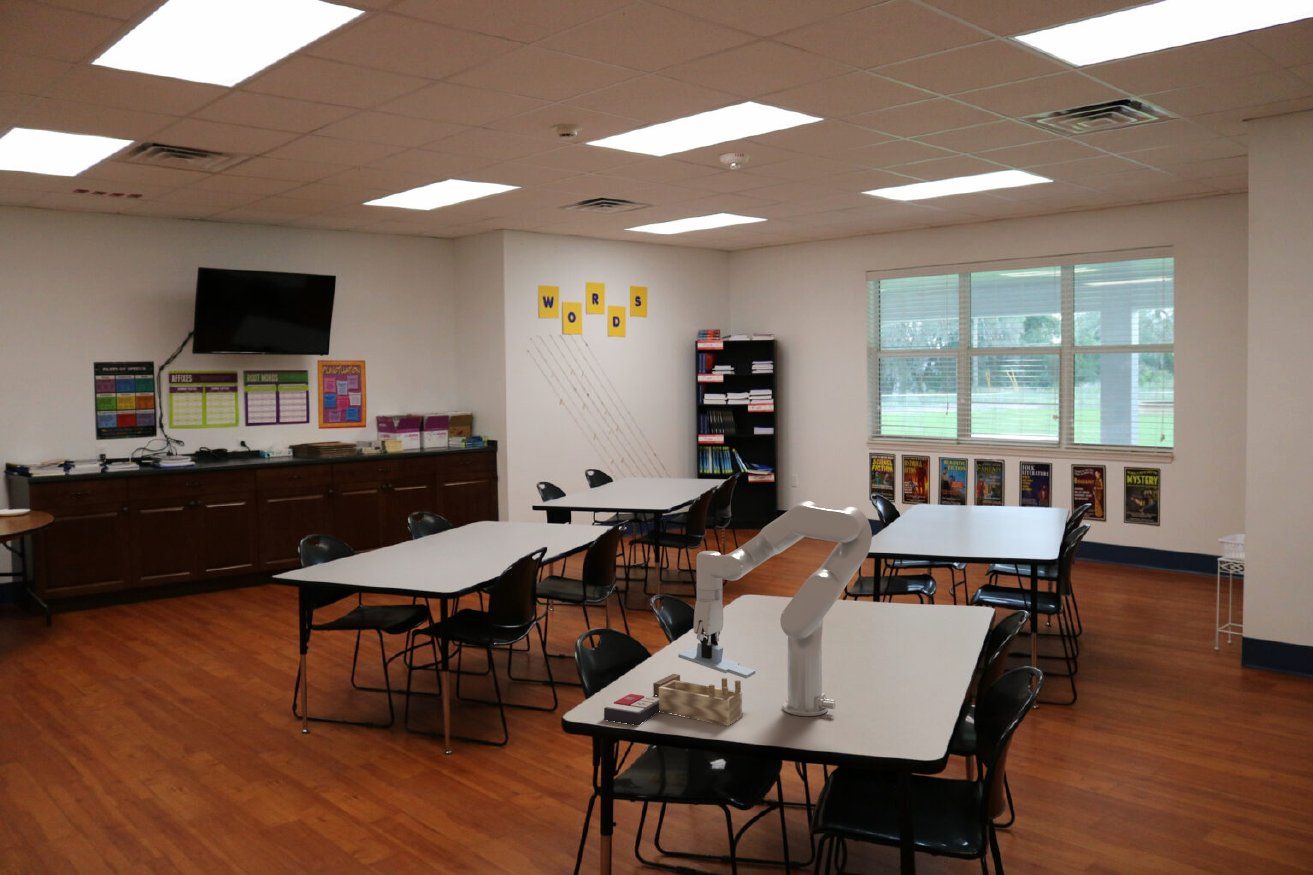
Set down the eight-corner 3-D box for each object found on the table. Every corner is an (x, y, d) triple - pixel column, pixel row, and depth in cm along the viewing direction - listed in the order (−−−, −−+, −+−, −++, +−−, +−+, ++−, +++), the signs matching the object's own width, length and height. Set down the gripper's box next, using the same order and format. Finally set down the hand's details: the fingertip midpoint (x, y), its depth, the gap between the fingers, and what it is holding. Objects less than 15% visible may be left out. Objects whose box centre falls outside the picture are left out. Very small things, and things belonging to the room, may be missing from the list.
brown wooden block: (680, 687, 282) (680, 674, 282) (660, 697, 273) (660, 684, 273) (673, 686, 283) (673, 673, 283) (653, 696, 274) (653, 683, 274)
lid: (757, 672, 266) (759, 655, 265) (744, 679, 259) (746, 662, 259) (692, 650, 278) (694, 634, 277) (678, 657, 271) (680, 640, 270)
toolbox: (742, 717, 255) (741, 680, 254) (727, 726, 248) (727, 688, 247) (674, 703, 267) (673, 668, 266) (659, 711, 260) (658, 676, 260)
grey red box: (663, 697, 263) (638, 710, 249) (663, 712, 263) (638, 726, 249) (629, 692, 268) (603, 705, 254) (629, 707, 268) (603, 720, 254)
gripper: (712, 587, 278) (712, 648, 279) (683, 597, 264) (684, 661, 265) (734, 590, 274) (734, 651, 275) (706, 600, 260) (706, 665, 261)
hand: (709, 656), depth 270 cm, fingers closed on lid, 2 cm apart
